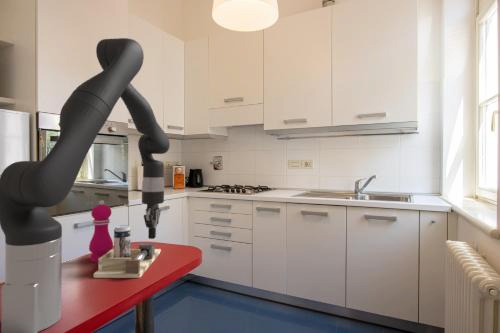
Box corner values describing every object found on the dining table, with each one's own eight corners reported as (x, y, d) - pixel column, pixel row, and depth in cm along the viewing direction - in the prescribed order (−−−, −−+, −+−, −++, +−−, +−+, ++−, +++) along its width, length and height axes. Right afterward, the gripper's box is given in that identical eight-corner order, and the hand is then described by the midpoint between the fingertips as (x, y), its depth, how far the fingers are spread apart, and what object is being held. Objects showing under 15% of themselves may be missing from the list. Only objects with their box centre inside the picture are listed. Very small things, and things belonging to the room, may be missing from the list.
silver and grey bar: (141, 269, 83) (141, 258, 83) (127, 269, 83) (127, 258, 83) (154, 253, 97) (154, 244, 97) (142, 253, 97) (142, 244, 97)
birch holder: (140, 277, 82) (140, 257, 82) (93, 277, 81) (93, 257, 81) (160, 252, 105) (161, 236, 105) (124, 252, 104) (124, 236, 104)
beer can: (123, 268, 85) (124, 228, 85) (109, 267, 86) (110, 227, 86) (133, 263, 90) (134, 225, 90) (120, 261, 91) (120, 224, 91)
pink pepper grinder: (84, 259, 95) (85, 200, 95) (105, 254, 101) (106, 198, 101) (95, 264, 91) (96, 202, 91) (117, 258, 97) (117, 200, 97)
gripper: (158, 191, 95) (157, 243, 95) (168, 188, 108) (167, 233, 109) (136, 191, 95) (135, 243, 95) (148, 188, 108) (147, 233, 108)
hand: (152, 238), depth 102 cm, fingers closed
